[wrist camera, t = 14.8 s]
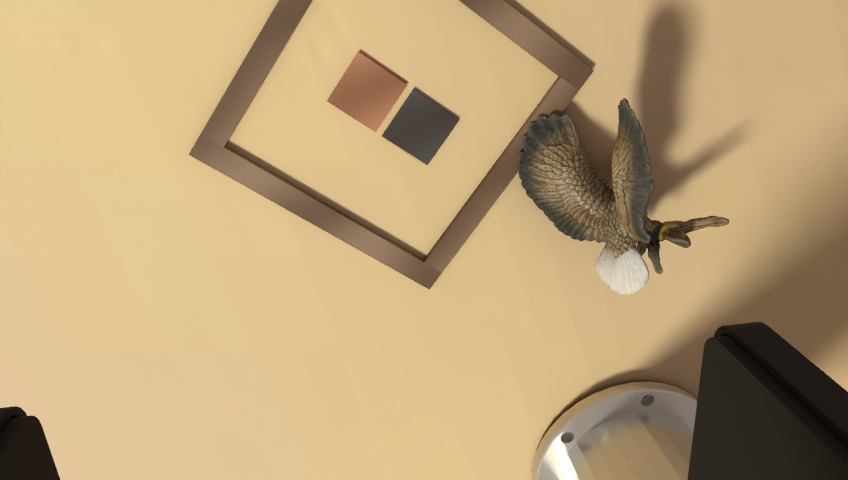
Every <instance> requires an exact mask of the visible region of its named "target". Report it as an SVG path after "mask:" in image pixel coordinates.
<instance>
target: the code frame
mask: <svg viewBox="0 0 848 480" xmlns="http://www.w3.org/2000/svg"><path fill="white" fill-rule="evenodd" d="M311 1H312V0H279V1H278V3H277V5H276V7H275V8H274V10H273V12H272V13H271V15H270V17H269V18H268V20H267V22H266V24H265V25H264V27H263V29H262V30H261V32H260V34H259V36H258V37H257V39H256V41H255V42H254V44H253V46H252V48H251V49H250V51H249V53H248V54H247V56H246V58H245V59H244V61H243V63H242V65H241V66H240V68H239V70H238V71H237V73H236V75H235V77H234V78H233V80H232V82H231V83H230V85H229V87H228V89H227V90H226V92H225V94H224V95H223V97H222V99H221V100H220V102H219V104H218V106H217V107H216V109H215V111H214V112H213V114H212V116H211V118H210V119H209V121H208V123H207V124H206V126H205V128H204V130H203V131H202V133H201V135H200V136H199V138H198V140H197V142H196V143H195V145H194V147H193V148H192V150H191V152H190V153H189V155H191V156H192V157H194V158H196V159H198V160H199V161H201V162H203V163H205V164H207V165H208V166H210V167H212V168H214V169H216V170H217V171H219V172H221V173H223V174H224V175H226V176H228V177H230V178H232V179H233V180H235V181H237V182H239V183H240V184H242V185H244V186H246V187H248V188H249V189H251V190H253V191H255V192H257V193H258V194H260V195H262V196H264V197H265V198H267V199H269V200H271V201H273V202H274V203H276V204H278V205H280V206H282V207H283V208H285V209H287V210H289V211H290V212H292V213H294V214H296V215H298V216H299V217H301V218H303V219H305V220H307V221H308V222H310V223H312V224H314V225H315V226H317V227H319V228H321V229H323V230H324V231H326V232H328V233H330V234H332V235H333V236H335V237H337V238H339V239H340V240H342V241H344V242H346V243H348V244H349V245H351V246H353V247H355V248H357V249H358V250H360V251H362V252H364V253H365V254H367V255H369V256H371V257H373V258H374V259H376V260H378V261H380V262H381V263H383V264H385V265H387V266H389V267H390V268H392V269H394V270H396V271H398V272H399V273H401V274H403V275H405V276H406V277H408V278H410V279H412V280H414V281H415V282H417V283H419V284H421V285H423V286H424V287H426V288H428V289H430V288H431V287H432V285H433V284H434V283H435V281H436V280H437V279H438V277H439V276H440V275H441V273H442V272H443V271H444V269H445V268H446V267H447V265H448V264H449V263H450V261H451V260H452V259H453V257H454V256H455V255H456V253H457V252H458V251H459V249H460V248H461V247H462V245H463V244H464V243H465V241H466V240H467V239H468V237H469V236H470V235H471V233H472V232H473V231H474V229H475V228H476V227H477V225H478V224H479V223H480V221H481V220H482V219H483V217H484V216H485V215H486V213H487V212H488V211H489V209H490V208H491V207H492V205H493V204H494V203H495V201H496V200H497V199H498V197H499V196H500V195H501V193H502V192H503V191H504V190H505V188H506V187H507V186H508V184H509V183H510V182H511V180H512V179H513V178H514V176H515V175H516V174H517V172H518V165H519V164H520V163H521V161H520V159H519V157H518V155H519V153H520V152H524V149H523V146H522V139H523V137H524V136H527V135H528V126H529V124H530V123H533V122H534V123H535V122H536V120H537V118H538V117H540V116H544V117H546V118H547V119H548V118H549V117H550V116H551V115H552V114H556V115H558V116H560V115H561V114H562V112H563V111H564V110H565V108H566V107H567V106H568V104H569V103H570V102H571V100H572V99H573V98H574V96H575V95H576V94H577V92H578V91H579V90H580V88H581V87H582V86H583V84H584V83H585V82H586V80H587V79H588V78H589V76H590V75H591V74H592V72H593V71H594V70H592V69H591V68H590V67H588V66H587V65H586V64H585V63H583V62H582V61H581V60H580V59H578V58H577V57H576V56H574V55H573V54H572V53H571V52H569V51H568V50H567V49H566V48H564V47H563V46H562V45H560V44H559V43H558V42H557V41H555V40H554V39H553V38H551V37H550V36H549V35H548V34H546V33H545V32H544V31H543V30H541V29H540V28H539V27H537V26H536V25H535V24H534V23H532V22H531V21H530V20H529V19H527V18H526V17H525V16H523V15H522V14H521V13H520V12H518V11H517V10H516V9H514V8H513V7H512V6H511V5H509V4H508V3H507V2H506V1H504V0H459V1H461V2H462V3H463V4H465V5H466V6H467V7H469V8H470V9H471V10H473V11H474V12H475V13H477V14H478V15H479V16H480V17H482V18H483V19H484V20H486V21H487V22H488V23H490V24H491V25H492V26H494V27H495V28H496V29H498V30H499V31H500V32H502V33H503V34H504V35H505V36H507V37H508V38H509V39H511V40H512V41H513V42H515V43H516V44H517V45H519V46H520V47H521V48H523V49H524V50H525V51H527V52H528V53H529V54H530V55H532V56H533V57H534V58H536V59H537V60H538V61H540V62H541V63H542V64H544V65H545V66H546V67H548V68H549V69H550V70H551V71H553V72H554V73H555V74H557V75H558V76H559V77H558V79H557V80H556V81H555V83H554V84H553V85H552V87H551V88H550V89H549V91H548V92H547V94H546V95H545V96H544V98H543V99H542V100H541V102H540V103H539V104H538V106H537V107H536V108H535V110H534V111H533V113H532V114H531V115H530V117H529V118H528V119H527V121H526V122H525V123H524V125H523V126H522V127H521V129H520V130H519V132H518V133H517V134H516V136H515V137H514V138H513V140H512V141H511V142H510V144H509V145H508V146H507V148H506V149H505V151H504V152H503V153H502V155H501V156H500V157H499V159H498V160H497V161H496V163H495V164H494V165H493V167H492V168H491V170H490V171H489V172H488V174H487V175H486V176H485V178H484V179H483V180H482V182H481V183H480V184H479V186H478V187H477V189H476V190H475V191H474V193H473V194H472V195H471V197H470V198H469V199H468V201H467V202H466V203H465V205H464V206H463V208H462V209H461V210H460V212H459V213H458V214H457V216H456V217H455V218H454V220H453V221H452V222H451V224H450V225H449V226H448V228H447V229H446V231H445V232H444V233H443V235H442V236H441V237H440V239H439V240H438V241H437V243H436V244H435V245H434V247H433V248H432V250H431V251H430V252H429V254H428V255H427V256H426V258H425V259H424V260H422V259H420V258H419V257H417V256H415V255H413V254H412V253H410V252H408V251H406V250H405V249H403V248H401V247H399V246H398V245H396V244H394V243H392V242H391V241H389V240H387V239H386V238H384V237H382V236H380V235H379V234H377V233H375V232H373V231H372V230H370V229H368V228H366V227H365V226H363V225H361V224H360V223H358V222H356V221H354V220H353V219H351V218H349V217H347V216H346V215H344V214H342V213H340V212H339V211H337V210H335V209H334V208H332V207H330V206H328V205H327V204H325V203H323V202H321V201H320V200H318V199H316V198H314V197H313V196H311V195H309V194H308V193H306V192H304V191H302V190H301V189H299V188H297V187H295V186H294V185H292V184H290V183H288V182H287V181H285V180H283V179H282V178H280V177H278V176H276V175H275V174H273V173H271V172H269V171H268V170H266V169H264V168H262V167H261V166H259V165H257V164H256V163H254V162H252V161H250V160H249V159H247V158H245V157H243V156H242V155H240V154H238V153H236V152H235V151H233V150H231V149H230V148H228V147H226V146H225V144H226V143H227V141H228V139H229V138H230V136H231V134H232V133H233V131H234V129H235V128H236V126H237V124H238V123H239V121H240V119H241V118H242V116H243V114H244V113H245V111H246V109H247V108H248V106H249V104H250V103H251V101H252V99H253V98H254V96H255V94H256V93H257V91H258V89H259V88H260V86H261V84H262V83H263V81H264V79H265V78H266V76H267V74H268V73H269V71H270V69H271V68H272V66H273V64H274V63H275V61H276V59H277V58H278V56H279V54H280V53H281V51H282V49H283V48H284V46H285V44H286V43H287V41H288V39H289V38H290V36H291V34H292V33H293V31H294V29H295V28H296V26H297V24H298V23H299V21H300V19H301V18H302V16H303V14H304V13H305V11H306V9H307V8H308V6H309V4H310V3H311ZM406 86H407V84H406V83H404V82H403V81H401V80H400V79H398V78H397V77H395V76H394V75H392V74H391V73H389V72H388V71H386V70H385V69H384V68H382V67H381V66H379V65H378V64H376V63H375V62H373V61H372V60H370V59H369V58H367V57H366V56H364V55H363V54H362V53H360V52H358V53H357V55H356V57H355V58H354V60H353V61H352V63H351V64H350V66H349V68H348V69H347V71H346V72H345V74H344V75H343V77H342V79H341V80H340V82H339V83H338V85H337V86H336V88H335V90H334V91H333V93H332V94H331V96H330V97H329V99H328V102H329V103H331V104H332V105H334V106H336V107H337V108H339V109H340V110H342V111H343V112H345V113H347V114H348V115H350V116H351V117H353V118H354V119H356V120H358V121H359V122H361V123H362V124H364V125H365V126H367V127H368V128H370V129H372V130H373V131H375V132H376V131H377V129H378V128H379V126H380V125H381V123H382V122H383V120H384V119H385V117H386V116H387V114H388V113H389V111H390V110H391V108H392V107H393V105H394V104H395V102H396V101H397V99H398V98H399V96H400V95H401V93H402V92H403V90H404V89H405V87H406ZM458 121H459V120H458V119H457V118H455V117H454V116H452V115H451V114H449V113H448V112H447V111H445V110H444V109H442V108H441V107H439V106H438V105H436V104H435V103H433V102H432V101H430V100H429V99H427V98H426V97H425V96H423V95H422V94H420V93H419V92H417V91H416V90H414V89H413V91H412V92H411V94H410V95H409V97H408V98H407V100H406V101H405V103H404V104H403V106H402V107H401V108H400V110H399V111H398V113H397V114H396V116H395V117H394V119H393V120H392V122H391V123H390V125H389V126H388V128H387V129H386V131H385V132H384V134H383V135H382V136H383V137H384V138H386V139H387V140H389V141H390V142H392V143H393V144H395V145H397V146H398V147H400V148H401V149H403V150H404V151H406V152H408V153H409V154H411V155H412V156H414V157H415V158H417V159H419V160H420V161H422V162H423V163H425V164H426V165H428V164H429V162H430V161H431V159H432V158H433V157H434V155H435V154H436V152H437V151H438V149H439V148H440V147H441V145H442V144H443V142H444V141H445V140H446V138H447V137H448V135H449V134H450V132H451V131H452V130H453V128H454V127H455V125H456V124H457V123H458Z"/></svg>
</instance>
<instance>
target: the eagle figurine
mask: <svg viewBox="0 0 848 480" xmlns="http://www.w3.org/2000/svg"><path fill="white" fill-rule="evenodd" d="M618 109H619V126H618V135H617V139H616V144H615V146H614V150H613V153H612V182H613V184H610V183H608V182H606V181H604V180H603V179H602V178H601V177H600V176H599V175H598V174H597V173H596V171H595V170H594V168H593V167H592V165H591V164H590V162H589V160H588V158H587V157H586V155H585V154H584V152H583V150H582V148H581V144H580V141H579V137H578V135H577V133H576V129H575V126H574V124H573V122H572V120H571V118H570V116H569V115H563V116H562V117H560V116H558V115H556V114H552V115H551V116H550V117H549V118H548V119H547V118H546V117H544V116H540V117H538V118H537V120H536V122H535V123H534V122H533V123H530V124H529V126H528V135H527V136H524V137H523V139H522V146H523V149H524V152H520V153H519V155H518V157H519V159H520V161H521V163H520V164H519V165H518V171H519V177H520V179H521V180H522V186H523V188H524V189H525V190H526V194H527V195H528V197H530V198H532V199H533V201H534V203H535V204H536V205H537V207H538V208H539V209H541V210H544V214H545V215H546V216H548V218H549V219H550V220H551V221H552V222H554V225H555V227H557V228H558V230H559V231H561V232H563V233H564V234H565V235H568V236H570V237H571V238H572V239H578V240H580V241H583V240H587V241H593V240H596V241H597V242H598V243H600V242H603V241H604V242H605V243H606V246H605V247H604V249H603V251H602V252H601V254H600V256H599V257H598V259H597V261H596V264H595V268H596V271H597V274H598V275H599V277H600V278H601V279H602V280H603V281H604V282H605V283H606V284H607V285H608V287H609V288H610V289H611V290H613V291H616V292H617V293H618V294H620V295H631V294H634V293H635V292H637V291H639V290H640V289H641V288H642V287H643V286H645V284H646V282H647V280H648V278H649V271H648V268H647V265H646V264H645V261H644V260H643V258H642V255H643V254H644V253H645V251H646V247H647V249H648V257H649V258H650V259H651V261H652V264H653V267H654V269H655V271H656V272H657V273H658V274H662V272H663V271H662V267H661V265H660V258H659V249H660V244H659V241H663V240H665V239H666V240H668V241H670V242H672V243H674V244H677V245H679V246H682V247H684V248H688V247H690V245H691V242H690V239H689V237H688V236H687V234H685V233H688V232H691V231H695V230H698V229H701V228H705V227H711V226H712V227H719V226H724V225H727V224H728V223H729V220H728V219H727V218H723V217H717V216H709V217H705V218H697V219H691V220H688V221H686V222H682V221H672V222H671V221H668V222H663V223H661V222H659V221H656V220H650V219H649V218H648V217H647V203H649V201H650V200H649V195H650V194H651V193H652V191H653V189H654V185H653V180H654V179H653V176H652V175H651V174H650V172H651V167H650V165H649V161H650V160H649V156H648V152H647V146H646V142H645V136H644V133H643V132H642V129H641V127H640V123H639V121H638V120H637V119H636V117H635V114H634V112H633V110H632V109H631V108H630V106H629V104H628V100H627V99H625V98H624V99H623V100H621V101H620V105H618ZM637 240H638V243H637ZM636 243H637V248H636Z"/></svg>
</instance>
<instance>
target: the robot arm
mask: <svg viewBox="0 0 848 480" xmlns="http://www.w3.org/2000/svg"><path fill="white" fill-rule="evenodd" d="M532 474H533V480H848V392H847V391H846V390H845V389H843V388H842V387H841V386H840V385H839V384H837V383H836V382H835V381H834V380H833V379H831V378H830V377H829V376H828V375H826V374H825V373H824V372H823V371H822V370H820V369H819V368H818V367H817V366H816V365H814V364H813V363H812V362H811V361H810V360H808V359H807V358H806V357H805V356H803V355H802V354H801V353H800V352H799V351H797V350H796V349H795V348H794V347H793V346H791V345H790V344H789V343H788V342H787V341H785V340H784V339H783V338H782V337H780V336H779V335H778V334H777V333H776V332H774V331H773V330H772V329H771V328H770V327H768V326H767V325H765V324H764V323H762V322H753V323H745V324H736V325H727V326H721V327H720V328H718V329H717V331H716V332H715V335H714V337H710V338H709V339H707V341H706V342H705V346H704V352H703V360H702V368H701V376H700V384H699V392H698V400H697V399H695V398H694V397H693V396H692V395H691V394H689V393H687V392H686V391H684V390H682V389H681V388H678V387H675V386H672V385H669V384H666V383H658V382H649V381H647V382H630V383H625V384H621V385H616V386H612V387H609V388H607V389H604V390H601V391H599V392H596V393H594V394H592V395H590V396H588V397H587V398H585V399H583V400H581V401H579V402H578V403H576V404H575V405H574V406H573V407H571V408H570V409H569V410H567V411H566V412H565V413H563V414H562V415H561V416H560V418H559V419H558V420H557V421H556V422H555V423H554V424H553V425H552V426H551V427H550V429H549V430H548V432H547V433H546V435H545V436H544V438H543V439H542V440H541V443H540V445H539V447H538V450H537V452H536V454H535V458H534V463H533V469H532ZM0 480H60V478H59V475H58V472H57V469H56V466H55V463H54V460H53V457H52V455H51V452H50V449H49V446H48V443H47V440H46V437H45V434H44V431H43V428H42V425H41V423H40V421H39V420H38V419H37V418H36V417H35V416H27V415H26V413H25V412H24V411H23V410H22V409H21V408H19V407H16V406H15V407H6V408H0Z"/></svg>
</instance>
